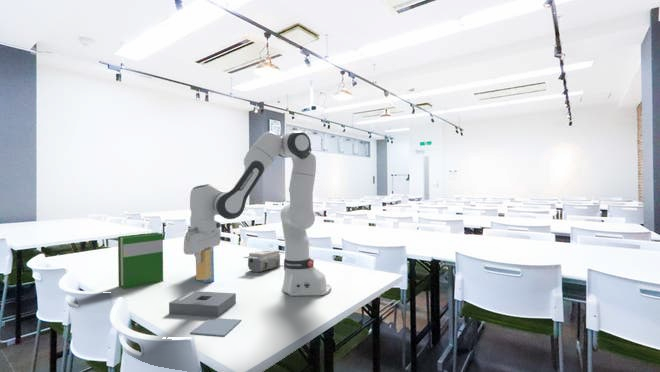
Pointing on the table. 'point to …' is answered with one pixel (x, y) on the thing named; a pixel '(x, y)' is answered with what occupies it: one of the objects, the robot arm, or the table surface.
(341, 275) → the table surface
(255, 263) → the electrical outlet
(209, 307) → the grey block with hole
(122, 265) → the hardback book
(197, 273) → the plug
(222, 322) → the mat
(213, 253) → the gum box
